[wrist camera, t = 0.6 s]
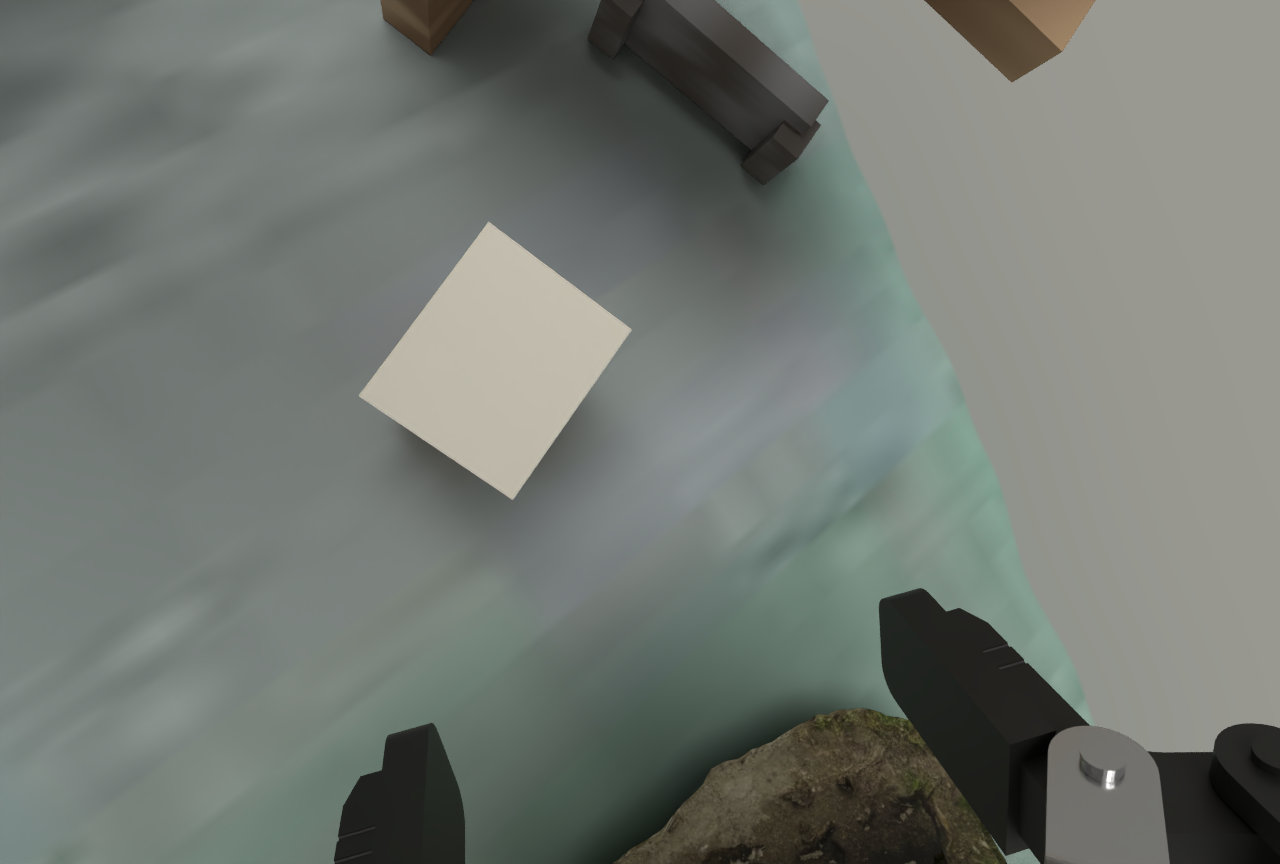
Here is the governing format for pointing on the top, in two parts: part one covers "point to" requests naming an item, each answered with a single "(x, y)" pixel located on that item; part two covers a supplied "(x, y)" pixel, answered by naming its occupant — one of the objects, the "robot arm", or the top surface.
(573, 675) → the top surface
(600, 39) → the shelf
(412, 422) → the tea tin
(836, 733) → the hollow geode rock
